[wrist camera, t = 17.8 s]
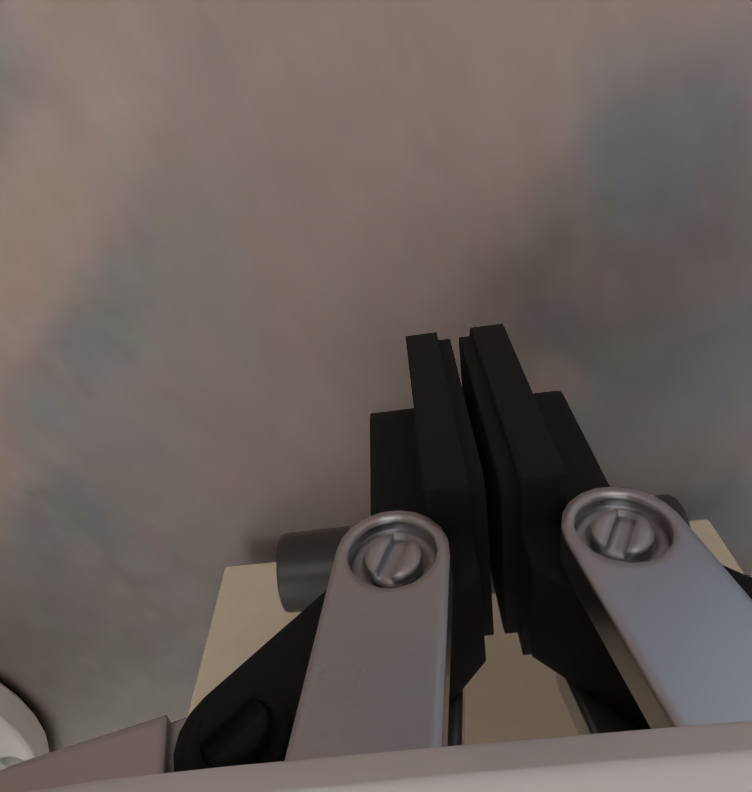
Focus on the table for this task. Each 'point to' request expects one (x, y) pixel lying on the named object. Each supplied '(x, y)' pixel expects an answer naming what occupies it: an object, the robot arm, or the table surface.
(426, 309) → the table surface
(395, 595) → the robot arm
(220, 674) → the drawer
